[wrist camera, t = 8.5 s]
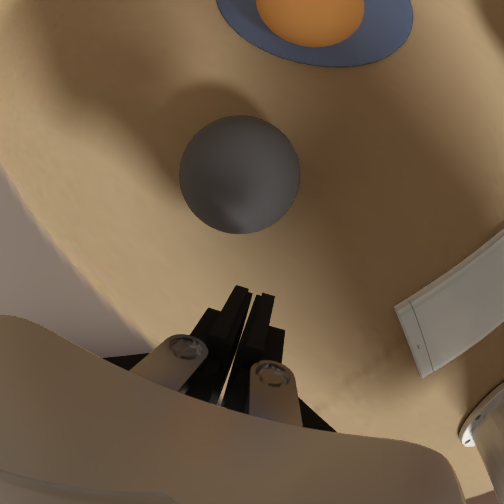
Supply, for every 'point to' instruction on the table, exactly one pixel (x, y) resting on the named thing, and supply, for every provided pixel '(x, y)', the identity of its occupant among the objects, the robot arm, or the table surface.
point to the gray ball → (239, 174)
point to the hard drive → (455, 308)
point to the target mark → (338, 55)
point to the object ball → (312, 20)
